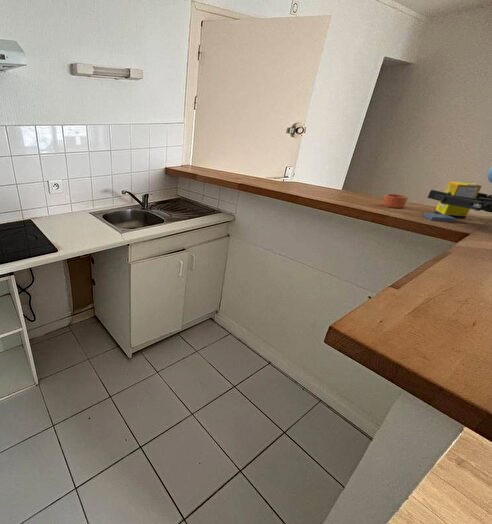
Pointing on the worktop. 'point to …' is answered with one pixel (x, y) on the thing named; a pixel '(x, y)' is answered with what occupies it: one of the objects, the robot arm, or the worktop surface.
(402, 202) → the ramekin
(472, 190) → the supplement box
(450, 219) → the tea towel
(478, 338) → the worktop surface
